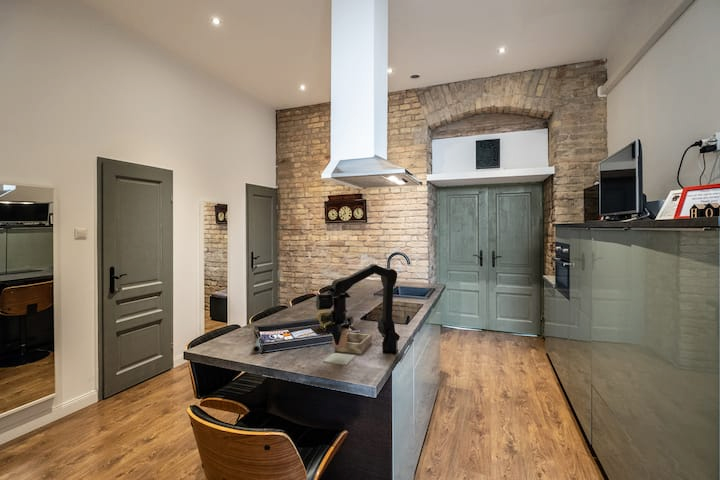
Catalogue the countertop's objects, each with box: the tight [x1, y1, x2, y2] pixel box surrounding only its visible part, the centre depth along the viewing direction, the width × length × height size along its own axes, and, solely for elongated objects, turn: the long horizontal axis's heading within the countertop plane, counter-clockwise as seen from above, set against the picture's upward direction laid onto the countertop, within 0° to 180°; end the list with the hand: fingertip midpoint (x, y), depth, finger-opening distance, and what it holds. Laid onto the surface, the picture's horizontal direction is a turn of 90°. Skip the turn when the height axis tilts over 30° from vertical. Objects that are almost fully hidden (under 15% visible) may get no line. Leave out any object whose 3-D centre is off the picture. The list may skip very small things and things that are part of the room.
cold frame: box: [334, 332, 373, 355], centre depth 169 cm, size 13×16×4 cm
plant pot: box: [317, 311, 331, 327], centre depth 200 cm, size 10×10×10 cm
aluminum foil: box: [252, 337, 261, 354], centre depth 174 cm, size 23×7×3 cm, turn 9°
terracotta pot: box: [332, 328, 349, 349], centre depth 152 cm, size 7×7×7 cm
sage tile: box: [323, 352, 356, 366], centre depth 152 cm, size 11×11×1 cm
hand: (340, 342), depth 152 cm, fingers closed on terracotta pot, 6 cm apart
